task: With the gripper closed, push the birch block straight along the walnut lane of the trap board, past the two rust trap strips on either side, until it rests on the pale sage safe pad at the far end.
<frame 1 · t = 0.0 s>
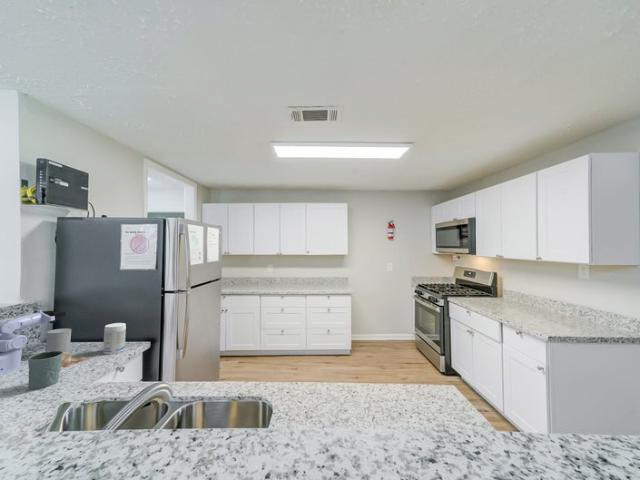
hand: (59, 313, 144), 22 cm above the counter, tool horizontal, fingers open, 7 cm apart
birch block: (61, 363, 131), resting on trap board
supplement tub: (113, 352, 149), on the counter
grey marbled cylinder: (57, 354, 144), on the counter
green plant pot: (43, 385, 111), on the counter
trap board: (69, 361, 134), on the counter
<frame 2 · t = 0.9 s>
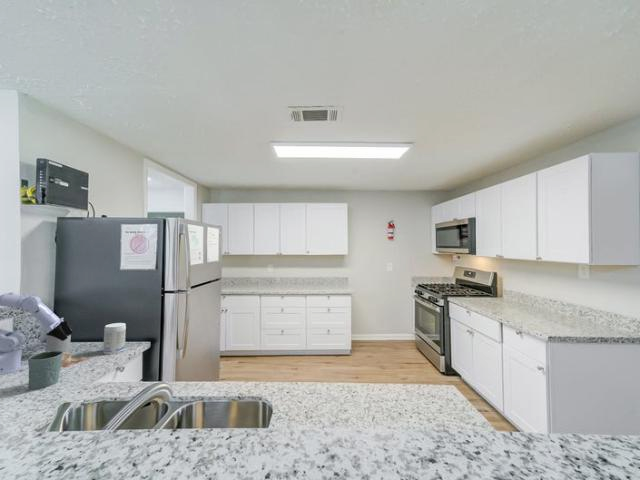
hand: (68, 336, 135), 12 cm above the counter, tool tilted 40°, fingers open, 7 cm apart
nothing on the counter moved.
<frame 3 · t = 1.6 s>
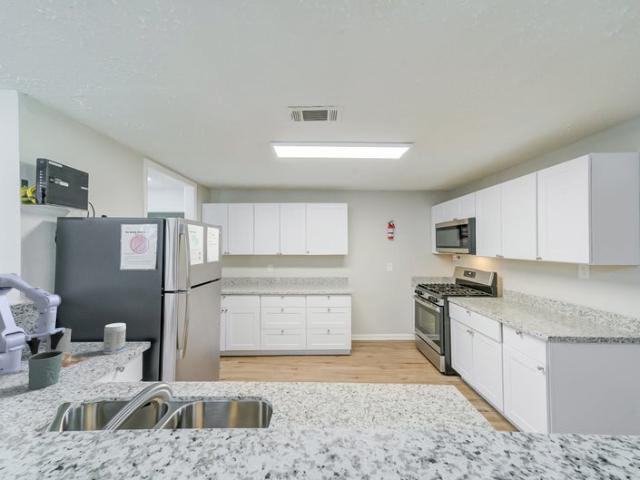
hand: (44, 352, 124), 8 cm above the counter, tool pointing down, fingers open, 7 cm apart
nothing on the counter moved.
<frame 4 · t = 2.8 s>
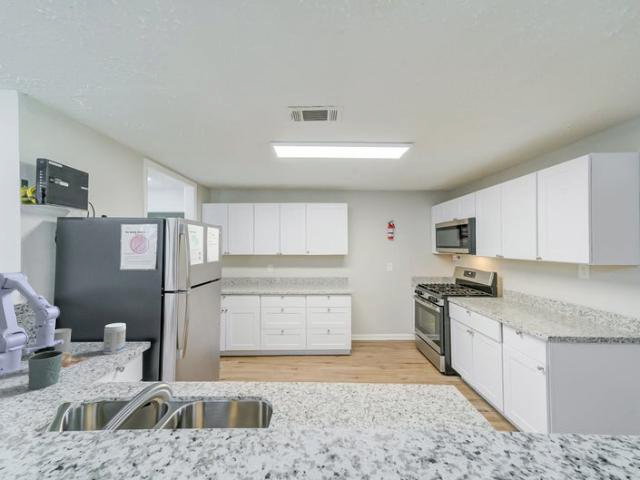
hand: (43, 364, 123), 3 cm above the counter, tool pointing down, fingers closed
nothing on the counter moved.
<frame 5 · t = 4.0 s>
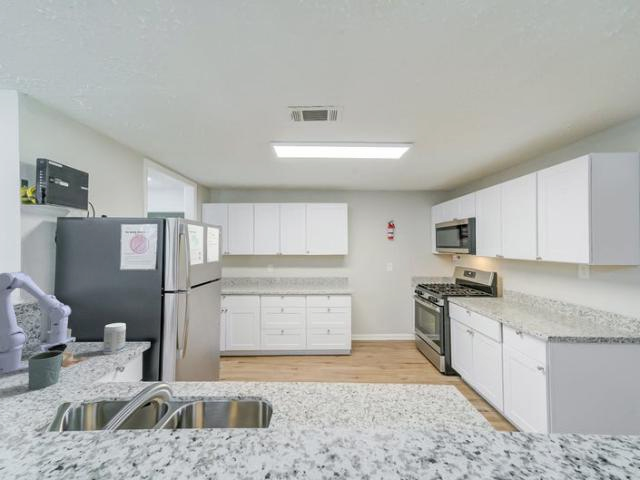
hand: (56, 361, 129), 2 cm above the counter, tool pointing down, fingers closed
birch block: (63, 363, 132), resting on trap board, touching gripper
everything else where it was.
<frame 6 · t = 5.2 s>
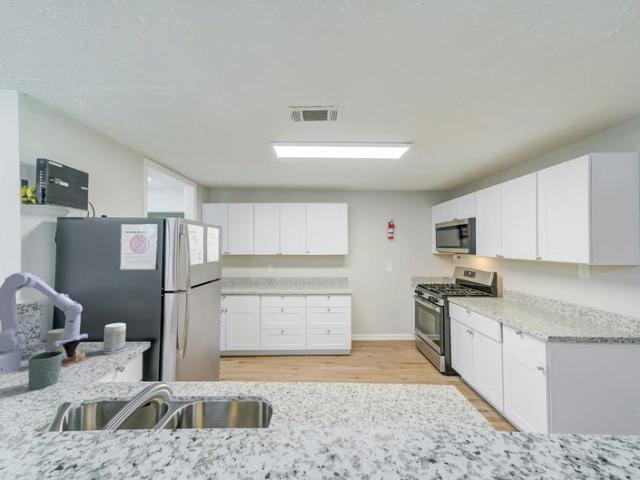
hand: (69, 356, 135), 2 cm above the counter, tool pointing down, fingers closed
birch block: (76, 358, 138), resting on trap board, touching gripper
everything else where it was.
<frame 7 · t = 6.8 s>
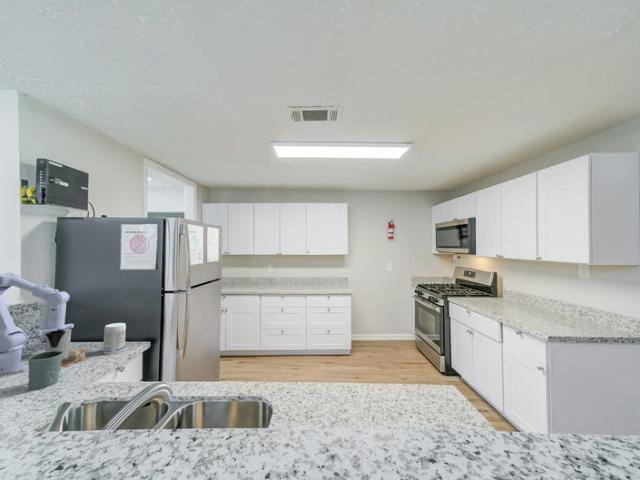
hand: (54, 347, 128), 9 cm above the counter, tool pointing down, fingers closed
birch block: (76, 358, 138), resting on trap board
everything else where it was.
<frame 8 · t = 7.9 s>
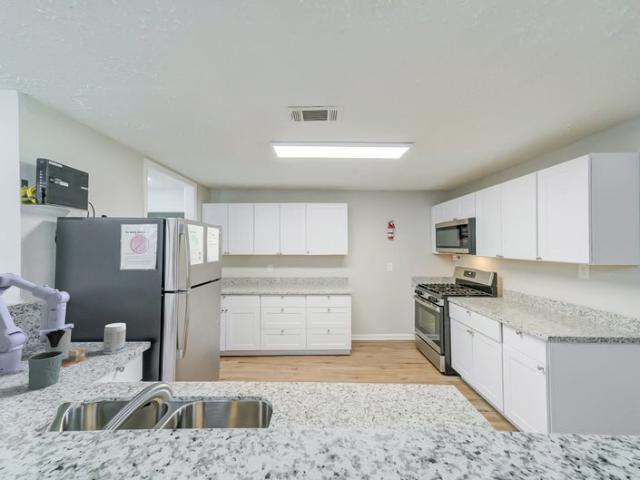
hand: (54, 347, 128), 9 cm above the counter, tool pointing down, fingers closed
nothing on the counter moved.
at the end: birch block 0.4 cm from the target spot, resting on trap board; birch block tilted 0° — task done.
